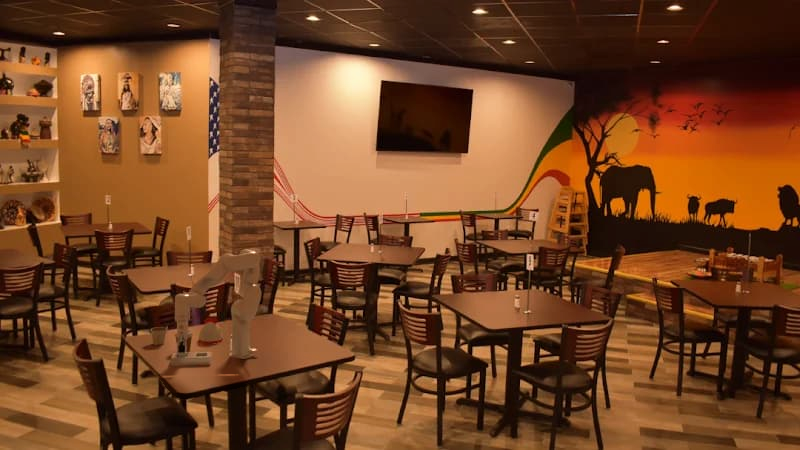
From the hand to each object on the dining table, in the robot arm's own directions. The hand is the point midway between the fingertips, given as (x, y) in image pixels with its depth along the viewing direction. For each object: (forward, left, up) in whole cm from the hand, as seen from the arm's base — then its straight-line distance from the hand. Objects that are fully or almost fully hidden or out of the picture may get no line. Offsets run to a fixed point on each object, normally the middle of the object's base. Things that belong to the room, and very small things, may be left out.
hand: (182, 350), depth 360 cm
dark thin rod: (-6, +7, -7) cm, 12 cm away
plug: (0, 0, -5) cm, 5 cm away
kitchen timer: (-12, -44, -8) cm, 46 cm away
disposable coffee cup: (+1, -19, -8) cm, 20 cm away
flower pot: (+17, -40, -8) cm, 44 cm away
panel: (-5, 0, -7) cm, 9 cm away
